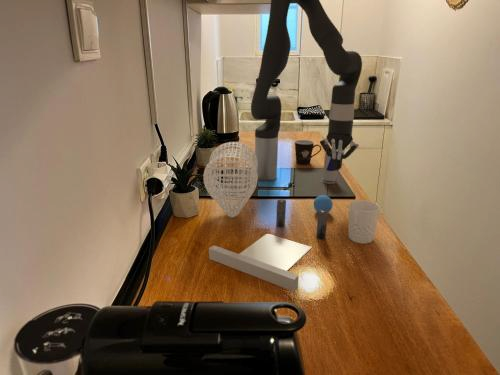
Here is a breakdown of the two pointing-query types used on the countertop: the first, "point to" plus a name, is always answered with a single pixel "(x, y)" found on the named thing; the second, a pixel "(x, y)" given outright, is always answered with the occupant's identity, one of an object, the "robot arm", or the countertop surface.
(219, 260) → the stopper wall
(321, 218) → the right post
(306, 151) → the coffee mug
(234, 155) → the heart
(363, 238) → the white cup
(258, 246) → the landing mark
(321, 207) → the ball
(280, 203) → the left post
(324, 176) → the energy drink
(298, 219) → the countertop surface
